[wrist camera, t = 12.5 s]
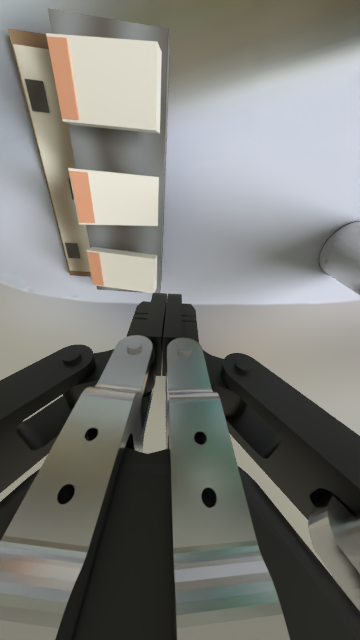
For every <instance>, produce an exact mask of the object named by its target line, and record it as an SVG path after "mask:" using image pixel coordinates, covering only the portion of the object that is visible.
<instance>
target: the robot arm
mask: <svg viewBox="0 0 360 640" xmlns="http://www.w3.org/2000/svg"><path fill="white" fill-rule="evenodd" d="M319 264H320V267H321V269H322V270H323V271H324V272H326V273H327V274H329V275H330V276H332V277H333V278H335V279H336V280H338V281H339V282H340V283H342V284H343V285H345V286H347V287H348V288H350V289H351V290H353V291H354V292H356V293H357V294H359V295H360V221H358V222H353V223H350V224H348V225H346V226H344V227H342V228H341V229H339V230H338V231H336V232H335V233H334V234H333V235H332V236H331V237H330V238H329V239H328V241H327V242H326V243H325V245H324V246H323V248H322V251H321V253H320V258H319ZM162 360H163V367H162ZM161 369H162V375H163V376H166V390H165V399H166V400H165V401H166V450H162V451H158V452H155V453H150V454H145V453H142V450H143V439H144V433H145V428H146V422H147V419H148V414H149V410H150V405H151V400H152V395H153V387H154V385H155V378H156V376H161ZM62 394H63V396H62V397H60V398H59V399H57V400H56V401H54V402H53V403H51V404H50V405H48V406H47V407H45V408H44V409H43V410H41V411H40V412H38V413H37V414H35V415H34V416H32V417H31V418H29V419H28V420H26V421H23V420H24V419H26V418H27V417H29V416H30V415H32V414H33V413H35V412H36V411H38V410H39V409H40V408H42V407H44V406H45V405H47V404H48V403H50V402H51V401H53V400H54V399H56V398H57V397H59V396H60V395H62ZM22 421H23V422H22ZM229 433H230V434H231V435H232V436H233V438H234V439H235V440H236V441H237V442H238V443H239V444H240V445H241V446H242V448H243V449H244V450H245V451H246V452H247V453H248V454H249V455H250V456H251V457H252V458H253V460H254V461H255V462H256V463H257V464H258V465H259V466H260V467H261V468H262V470H263V471H264V472H265V473H266V474H267V475H268V476H269V477H270V478H271V480H272V481H273V482H274V483H275V484H276V485H277V486H278V487H279V488H280V489H281V491H282V492H283V493H284V494H285V495H286V496H287V497H288V498H289V499H290V501H291V502H292V503H293V504H294V505H295V506H296V507H297V508H298V509H299V511H300V512H301V513H302V514H303V515H304V516H305V517H306V518H307V519H308V527H309V533H310V537H311V540H312V545H313V548H314V549H315V551H316V553H317V554H318V556H319V557H320V558H321V560H322V561H323V563H324V564H325V565H326V567H327V568H328V569H329V571H330V572H331V574H332V576H333V577H334V578H333V577H332V576H331V575H330V573H329V572H328V571H327V570H326V569H325V567H324V566H323V565H322V564H321V562H320V561H319V560H318V559H317V557H316V556H315V555H314V554H313V552H312V551H311V550H310V549H309V547H308V546H307V545H306V544H305V542H304V541H303V540H302V539H301V538H300V536H299V535H298V534H297V533H296V531H295V530H294V529H293V527H292V526H291V525H290V524H289V522H288V521H287V520H286V519H285V518H284V516H283V515H282V514H281V513H280V511H279V510H278V509H277V508H276V506H275V505H274V504H273V503H272V501H271V500H270V499H269V498H268V496H267V495H266V494H265V493H264V491H263V490H262V489H261V488H260V486H259V485H258V484H257V483H256V482H255V481H254V480H253V479H252V478H251V477H250V476H249V475H248V474H247V473H246V472H245V471H243V470H242V469H241V468H240V467H238V466H237V462H236V458H235V455H234V450H233V446H232V443H231V439H230V435H229ZM48 453H49V454H48ZM47 454H48V456H47V458H46V459H45V461H44V463H43V465H42V467H41V468H40V469H39V470H38V471H36V472H35V473H34V474H32V475H31V476H30V477H28V478H27V479H26V480H25V481H24V482H22V483H21V484H20V485H19V486H18V487H17V488H16V489H15V490H13V491H12V492H11V493H10V494H9V495H8V496H7V497H5V498H4V499H3V500H2V501H1V502H0V640H360V436H359V435H358V434H356V433H355V432H353V431H352V430H351V429H349V428H348V427H346V426H345V425H344V424H342V423H341V422H340V421H338V420H337V419H335V418H334V417H333V416H331V415H330V414H329V413H327V412H326V411H325V410H323V409H322V408H321V407H319V406H318V405H316V404H315V403H314V402H312V401H311V400H309V399H308V398H307V397H305V396H304V395H303V394H301V393H300V392H299V391H297V390H296V389H294V388H293V387H292V386H290V385H289V384H288V383H286V382H285V381H283V380H282V379H281V378H279V377H278V376H277V375H275V374H274V373H272V372H271V371H270V370H268V369H267V368H266V367H264V366H263V365H261V364H260V363H259V362H257V361H256V360H255V359H253V358H252V357H250V356H248V355H245V354H241V353H233V354H230V355H228V356H226V357H225V359H221V358H218V357H215V356H212V355H210V354H208V353H206V352H205V351H204V350H203V349H202V347H201V345H200V344H199V339H198V330H197V322H196V311H195V309H194V308H193V306H192V305H191V304H182V296H181V294H168V298H167V294H165V293H153V295H152V300H151V302H144V301H143V302H142V303H140V304H139V305H138V306H137V308H136V311H135V314H134V316H133V319H132V322H131V326H130V328H129V331H128V334H127V337H125V338H123V339H122V340H120V341H119V342H118V344H117V345H116V347H115V349H113V350H110V351H105V352H100V353H94V354H93V351H92V350H91V349H90V348H89V347H87V346H85V345H71V346H68V347H65V348H63V349H61V350H59V351H57V352H55V353H53V354H51V355H49V356H47V357H45V358H43V359H41V360H40V361H38V362H36V363H34V364H32V365H30V366H28V367H26V368H24V369H22V370H20V371H18V372H16V373H14V374H12V375H10V376H8V377H6V378H5V379H3V380H1V381H0V493H1V492H2V491H3V490H4V489H6V488H7V487H8V486H9V485H11V484H12V483H13V482H14V481H15V480H17V479H18V478H19V477H20V476H21V475H23V474H24V473H25V472H26V471H28V470H29V469H30V468H31V467H32V466H34V465H35V464H36V463H37V462H39V461H40V460H41V459H42V458H43V457H44V456H46V455H47ZM334 579H335V580H334Z"/></svg>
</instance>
